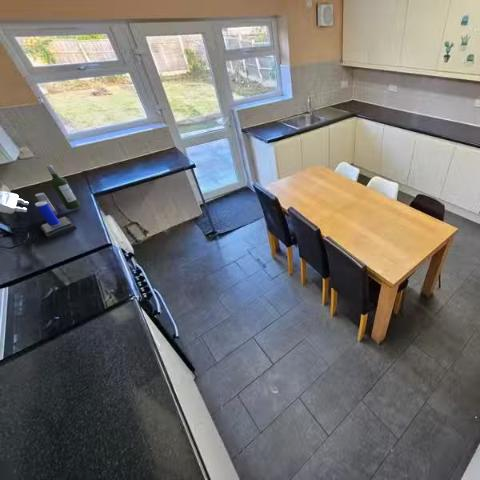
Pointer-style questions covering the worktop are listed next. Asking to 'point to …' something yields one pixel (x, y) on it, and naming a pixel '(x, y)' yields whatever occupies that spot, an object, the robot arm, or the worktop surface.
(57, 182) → the wine bottle
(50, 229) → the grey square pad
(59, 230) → the scale
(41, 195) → the container
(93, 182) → the worktop surface
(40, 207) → the beverage can
